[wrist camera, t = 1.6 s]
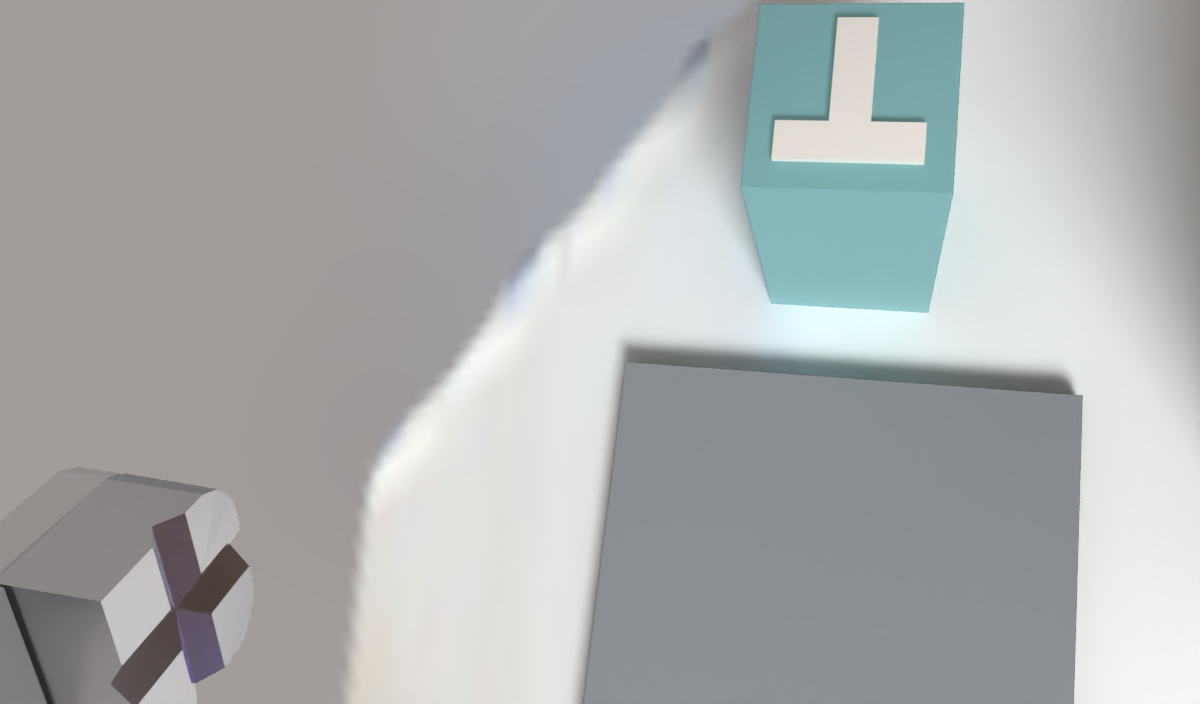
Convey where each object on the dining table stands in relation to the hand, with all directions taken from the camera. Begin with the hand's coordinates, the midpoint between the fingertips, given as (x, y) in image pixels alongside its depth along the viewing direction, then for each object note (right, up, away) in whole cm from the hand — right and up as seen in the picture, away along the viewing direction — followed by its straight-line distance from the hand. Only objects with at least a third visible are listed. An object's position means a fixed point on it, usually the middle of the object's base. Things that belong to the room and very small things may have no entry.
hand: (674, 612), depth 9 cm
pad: (+6, -6, +24) cm, 26 cm away
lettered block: (+8, +6, +27) cm, 29 cm away
